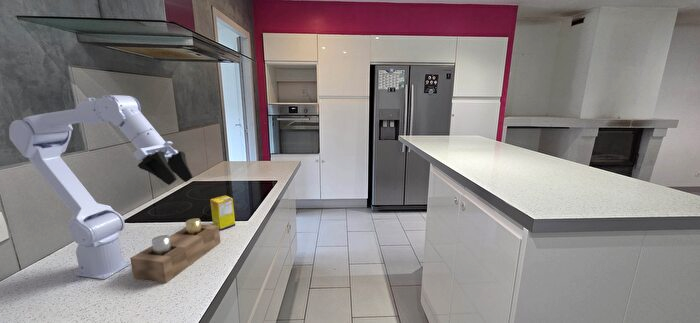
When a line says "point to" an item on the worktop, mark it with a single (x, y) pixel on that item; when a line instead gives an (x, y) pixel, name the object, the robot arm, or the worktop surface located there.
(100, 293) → the worktop surface
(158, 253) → the steel peg
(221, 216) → the supplement box
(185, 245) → the walnut peg board
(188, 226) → the brass peg
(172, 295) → the worktop surface
